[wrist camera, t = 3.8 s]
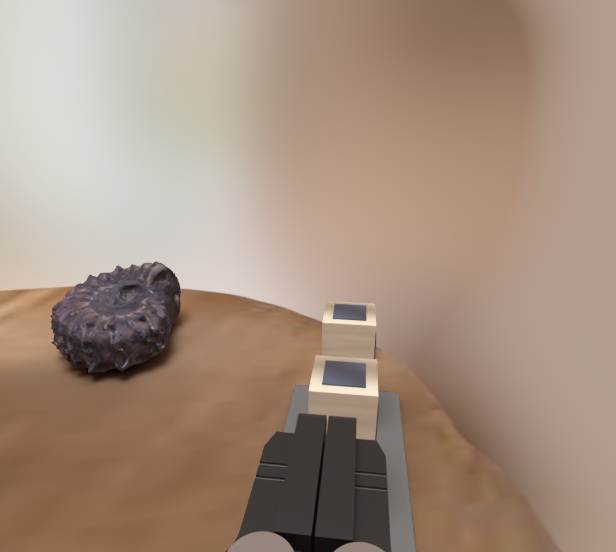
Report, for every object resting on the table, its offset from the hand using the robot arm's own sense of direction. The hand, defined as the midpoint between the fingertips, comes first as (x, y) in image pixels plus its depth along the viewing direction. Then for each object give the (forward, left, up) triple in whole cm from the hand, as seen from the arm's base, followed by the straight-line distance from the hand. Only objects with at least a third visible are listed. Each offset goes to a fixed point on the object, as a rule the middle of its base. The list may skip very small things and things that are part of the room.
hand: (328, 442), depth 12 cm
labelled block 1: (-19, +26, -23) cm, 40 cm away
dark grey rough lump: (-50, +18, -24) cm, 58 cm away
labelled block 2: (-12, +17, -23) cm, 32 cm away
